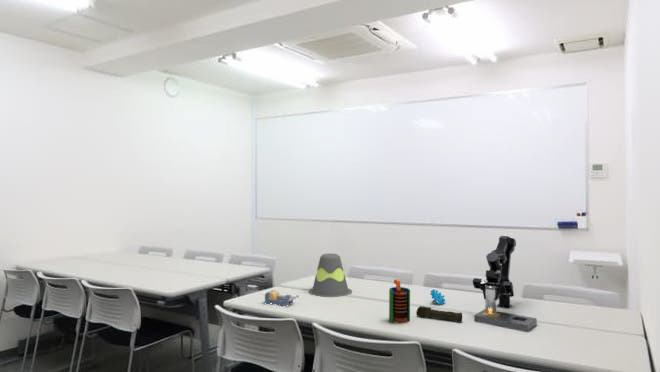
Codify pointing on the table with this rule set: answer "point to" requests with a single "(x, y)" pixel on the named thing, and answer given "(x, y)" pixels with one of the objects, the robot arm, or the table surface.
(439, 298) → the gear
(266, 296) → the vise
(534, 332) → the table surface
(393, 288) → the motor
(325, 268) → the traffic cone
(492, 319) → the plate
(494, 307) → the steel plug
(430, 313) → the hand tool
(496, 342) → the table surface
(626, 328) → the table surface
